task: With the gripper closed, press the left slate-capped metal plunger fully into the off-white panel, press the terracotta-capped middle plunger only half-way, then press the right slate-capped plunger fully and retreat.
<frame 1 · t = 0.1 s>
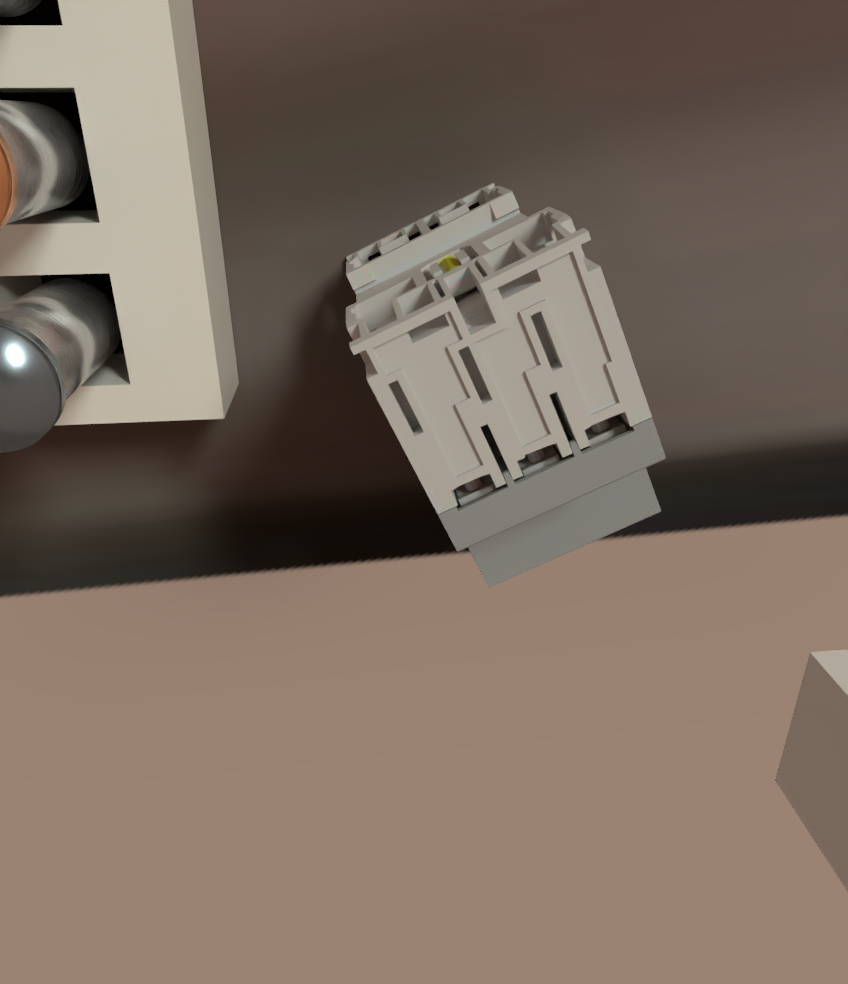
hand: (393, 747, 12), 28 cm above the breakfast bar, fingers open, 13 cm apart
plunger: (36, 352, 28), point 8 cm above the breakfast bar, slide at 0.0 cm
panel: (68, 153, 32), on the breakfast bar
circuit breaker: (477, 354, 38), on the breakfast bar
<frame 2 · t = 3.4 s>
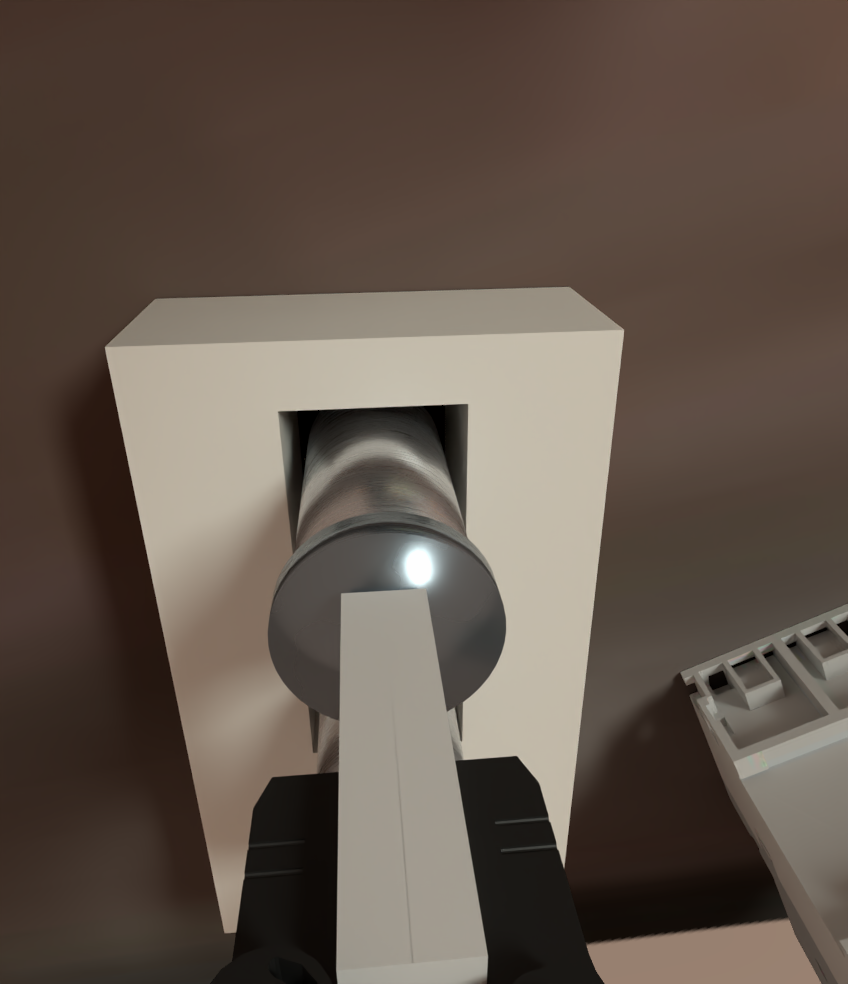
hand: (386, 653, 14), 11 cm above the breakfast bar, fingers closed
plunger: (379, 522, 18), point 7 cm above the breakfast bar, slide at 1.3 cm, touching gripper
panel: (379, 593, 27), on the breakfast bar
plunger mid: (390, 765, 20), point 8 cm above the breakfast bar, slide at 0.0 cm
circuit breaker: (805, 749, 32), on the breakfast bar
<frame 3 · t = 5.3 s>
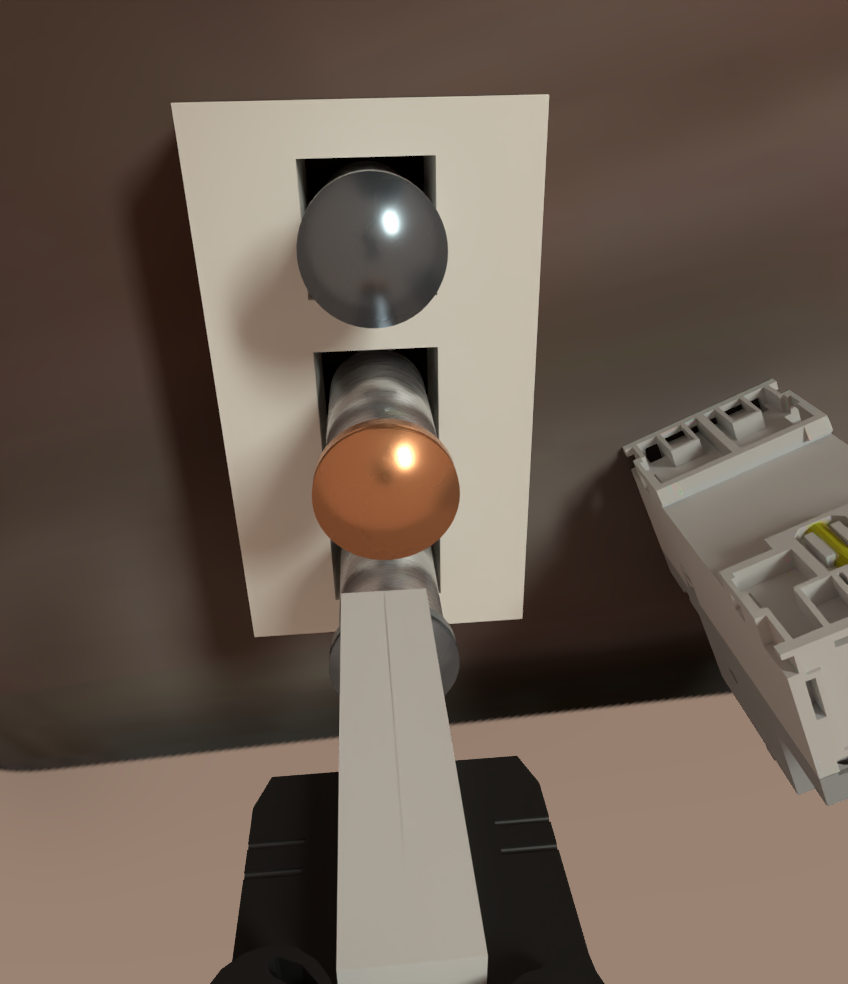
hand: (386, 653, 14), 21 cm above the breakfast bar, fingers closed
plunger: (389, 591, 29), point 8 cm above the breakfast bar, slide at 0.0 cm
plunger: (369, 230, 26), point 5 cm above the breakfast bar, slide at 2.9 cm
panel: (375, 366, 33), on the breakfast bar
plunger mid: (381, 438, 26), point 8 cm above the breakfast bar, slide at 0.0 cm
circuit breaker: (731, 525, 39), on the breakfast bar
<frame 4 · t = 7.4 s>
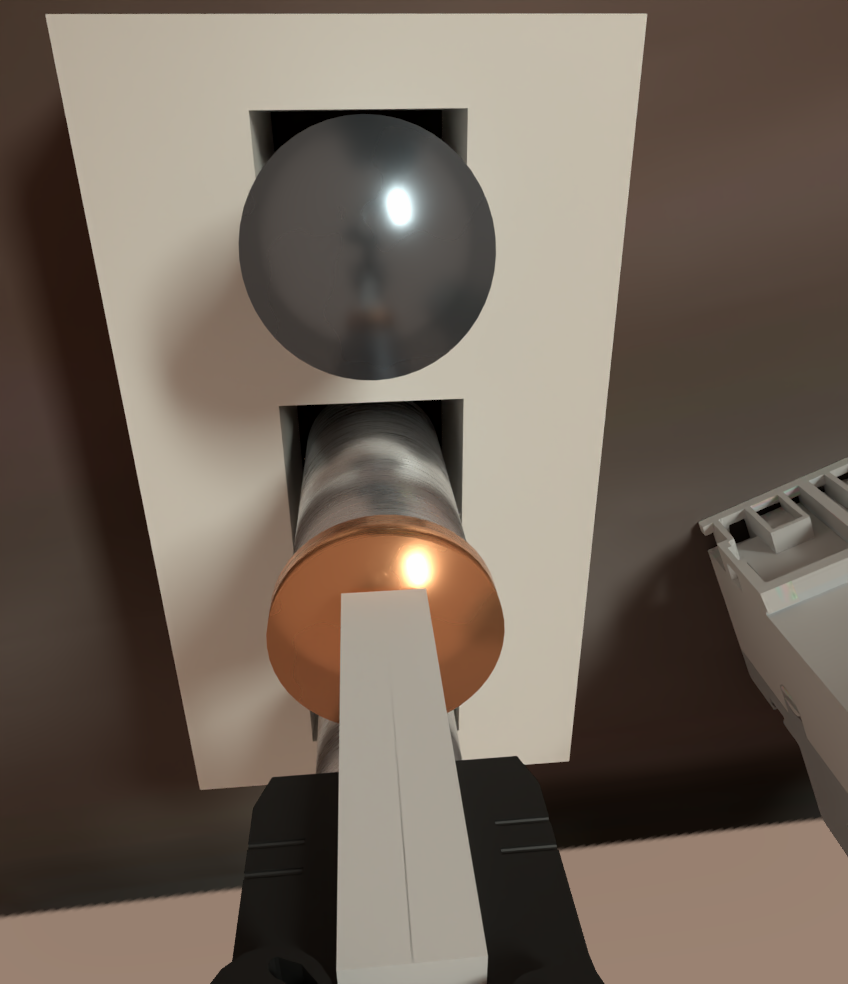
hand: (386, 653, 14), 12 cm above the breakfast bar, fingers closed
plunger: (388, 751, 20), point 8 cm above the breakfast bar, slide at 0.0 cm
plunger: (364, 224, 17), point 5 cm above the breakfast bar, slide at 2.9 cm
panel: (370, 417, 24), on the breakfast bar
plunger mid: (378, 524, 18), point 7 cm above the breakfast bar, slide at 0.8 cm, touching gripper
circuit breaker: (831, 619, 30), on the breakfast bar
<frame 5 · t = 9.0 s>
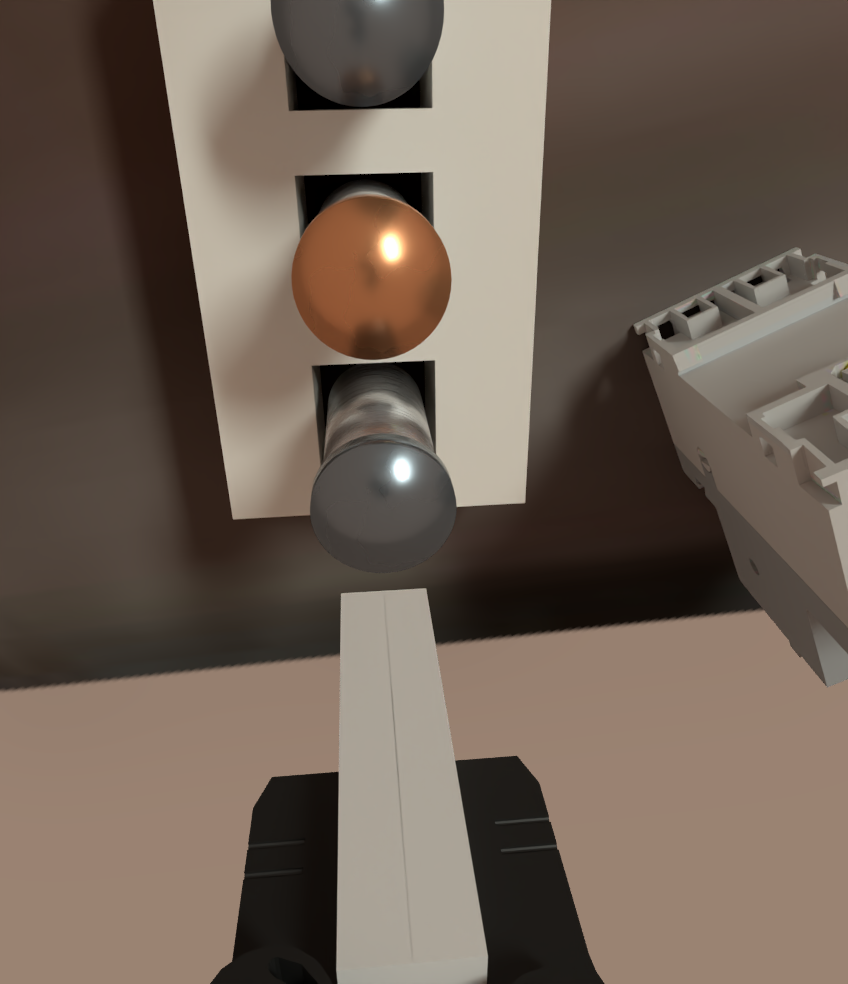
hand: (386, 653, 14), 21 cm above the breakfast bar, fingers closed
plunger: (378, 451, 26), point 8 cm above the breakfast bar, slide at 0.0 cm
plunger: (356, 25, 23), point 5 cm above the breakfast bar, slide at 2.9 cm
panel: (365, 224, 30), on the breakfast bar
plunger mid: (368, 254, 25), point 7 cm above the breakfast bar, slide at 1.3 cm
circuit breaker: (749, 419, 36), on the breakfast bar
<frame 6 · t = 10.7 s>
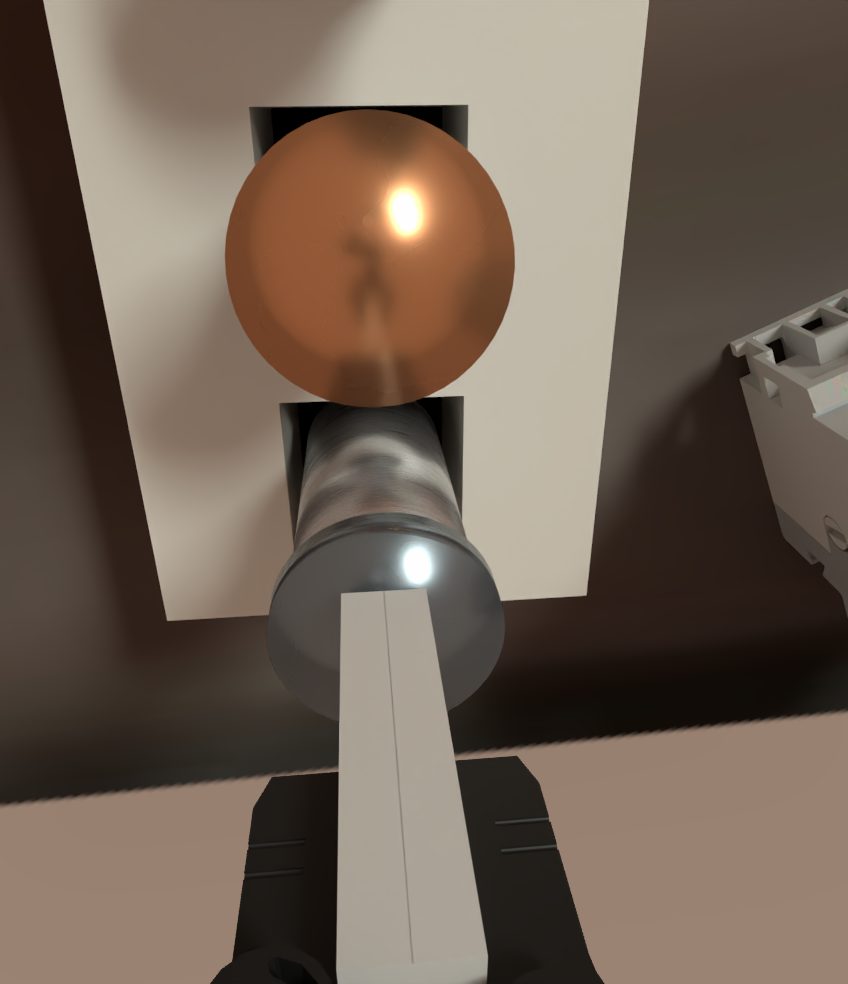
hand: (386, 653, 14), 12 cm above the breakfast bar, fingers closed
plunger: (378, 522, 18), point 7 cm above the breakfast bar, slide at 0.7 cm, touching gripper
panel: (361, 198, 21), on the breakfast bar
plunger mid: (366, 231, 15), point 7 cm above the breakfast bar, slide at 1.3 cm
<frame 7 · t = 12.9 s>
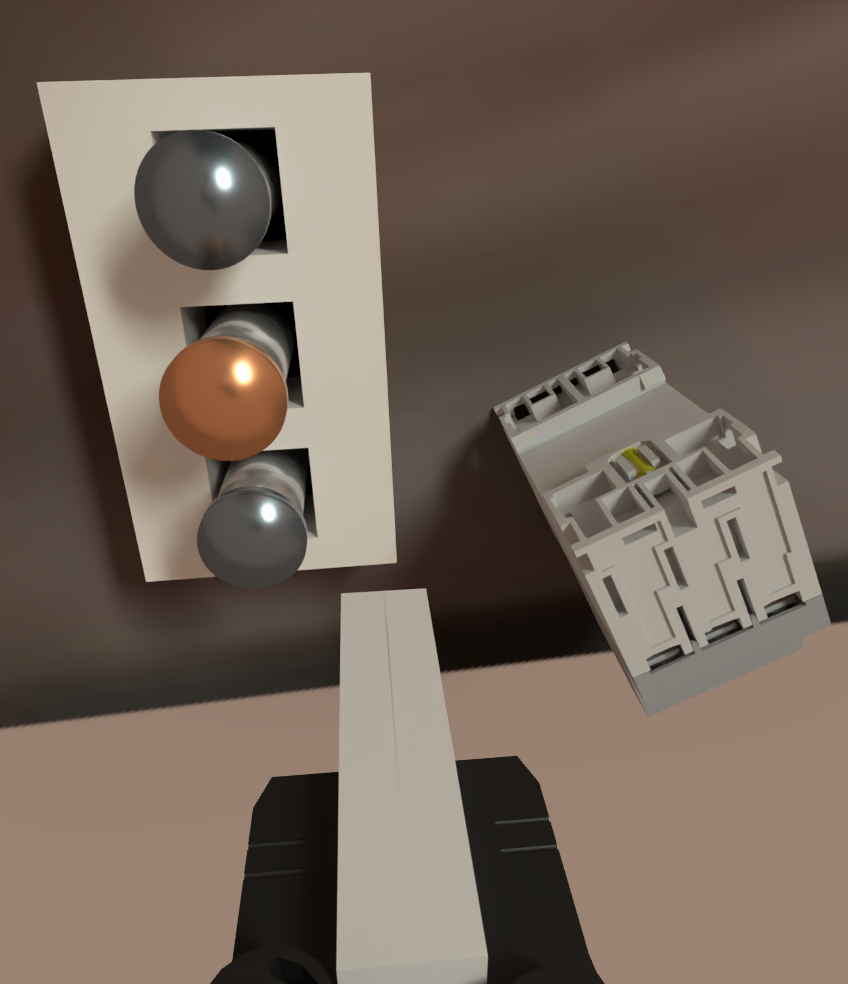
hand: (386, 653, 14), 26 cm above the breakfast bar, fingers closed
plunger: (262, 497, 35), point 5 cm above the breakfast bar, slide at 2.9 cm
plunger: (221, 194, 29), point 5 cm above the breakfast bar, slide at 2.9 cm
panel: (256, 332, 36), on the breakfast bar
plunger mid: (239, 369, 30), point 7 cm above the breakfast bar, slide at 1.3 cm
circuit breaker: (604, 483, 42), on the breakfast bar
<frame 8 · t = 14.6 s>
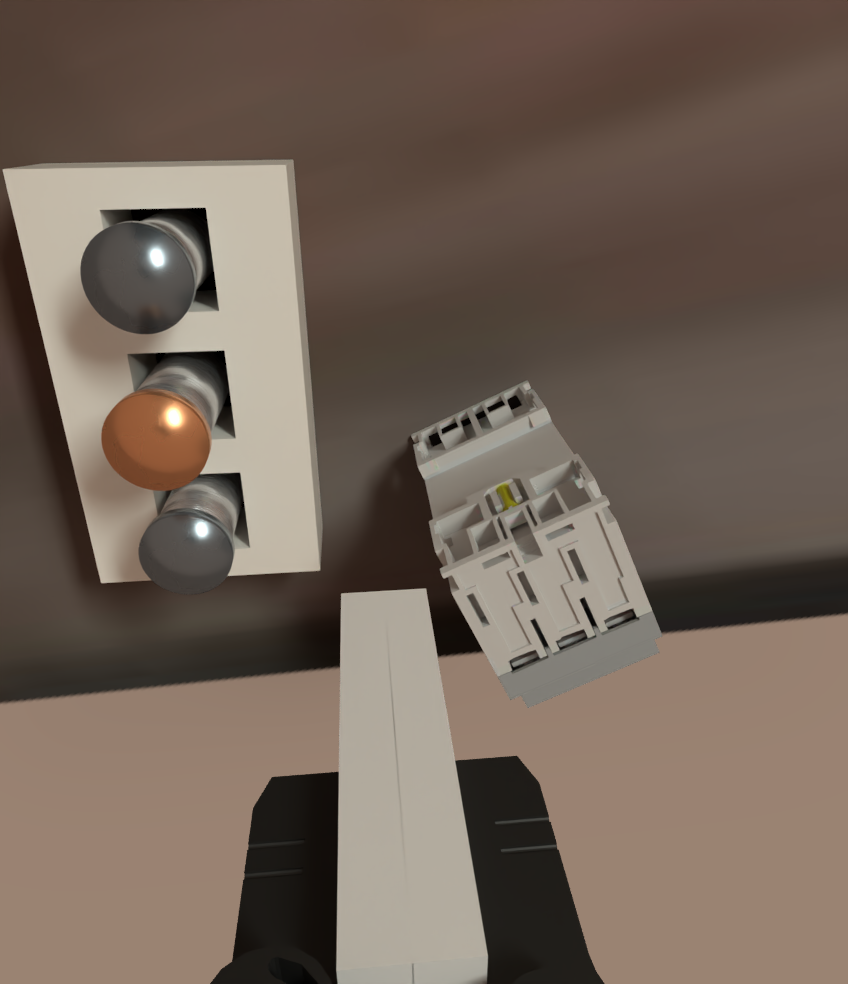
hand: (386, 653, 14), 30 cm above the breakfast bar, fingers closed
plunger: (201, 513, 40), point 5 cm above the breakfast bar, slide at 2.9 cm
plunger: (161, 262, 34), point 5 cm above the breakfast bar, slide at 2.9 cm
panel: (200, 367, 42), on the breakfast bar
plunger mid: (176, 408, 36), point 7 cm above the breakfast bar, slide at 1.3 cm
circuit breaker: (512, 501, 48), on the breakfast bar
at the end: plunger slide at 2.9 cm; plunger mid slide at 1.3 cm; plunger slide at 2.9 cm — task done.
